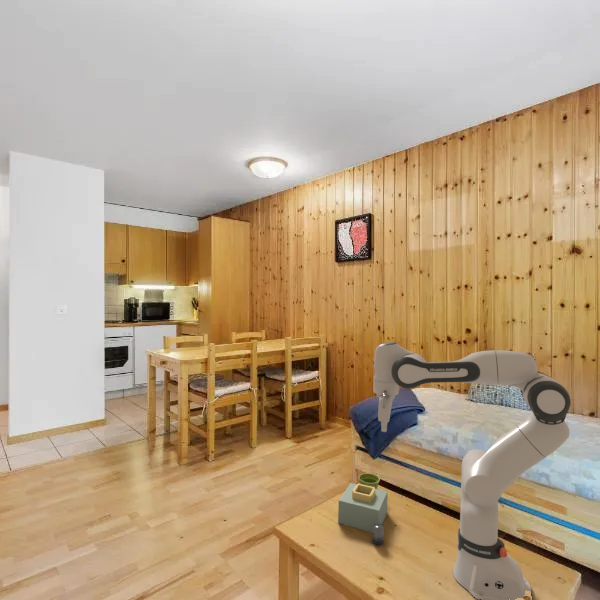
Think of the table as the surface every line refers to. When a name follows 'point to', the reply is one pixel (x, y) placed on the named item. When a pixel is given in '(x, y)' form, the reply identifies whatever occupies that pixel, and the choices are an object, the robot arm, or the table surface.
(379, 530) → the cylinder
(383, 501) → the box with square opening
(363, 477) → the plant pot
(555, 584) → the table surface
